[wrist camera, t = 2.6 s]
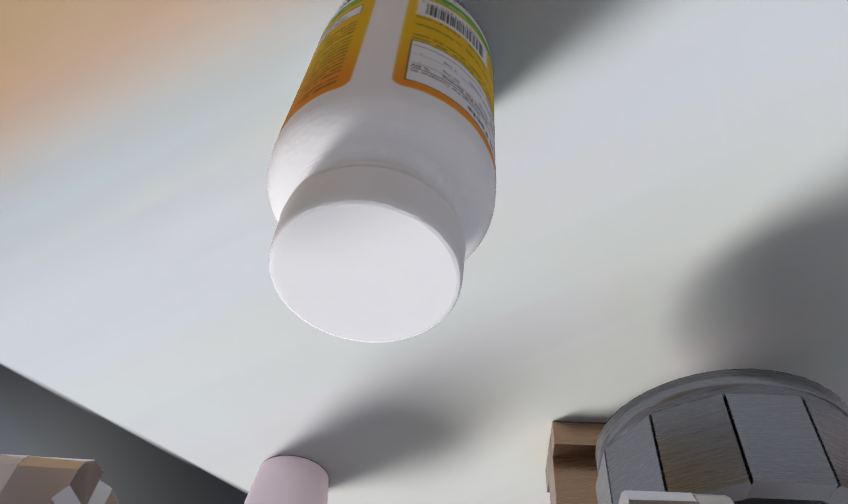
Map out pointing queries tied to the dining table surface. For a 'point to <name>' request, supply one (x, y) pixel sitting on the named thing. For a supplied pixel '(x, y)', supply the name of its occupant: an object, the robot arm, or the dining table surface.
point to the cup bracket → (710, 443)
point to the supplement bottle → (384, 170)
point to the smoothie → (289, 482)
